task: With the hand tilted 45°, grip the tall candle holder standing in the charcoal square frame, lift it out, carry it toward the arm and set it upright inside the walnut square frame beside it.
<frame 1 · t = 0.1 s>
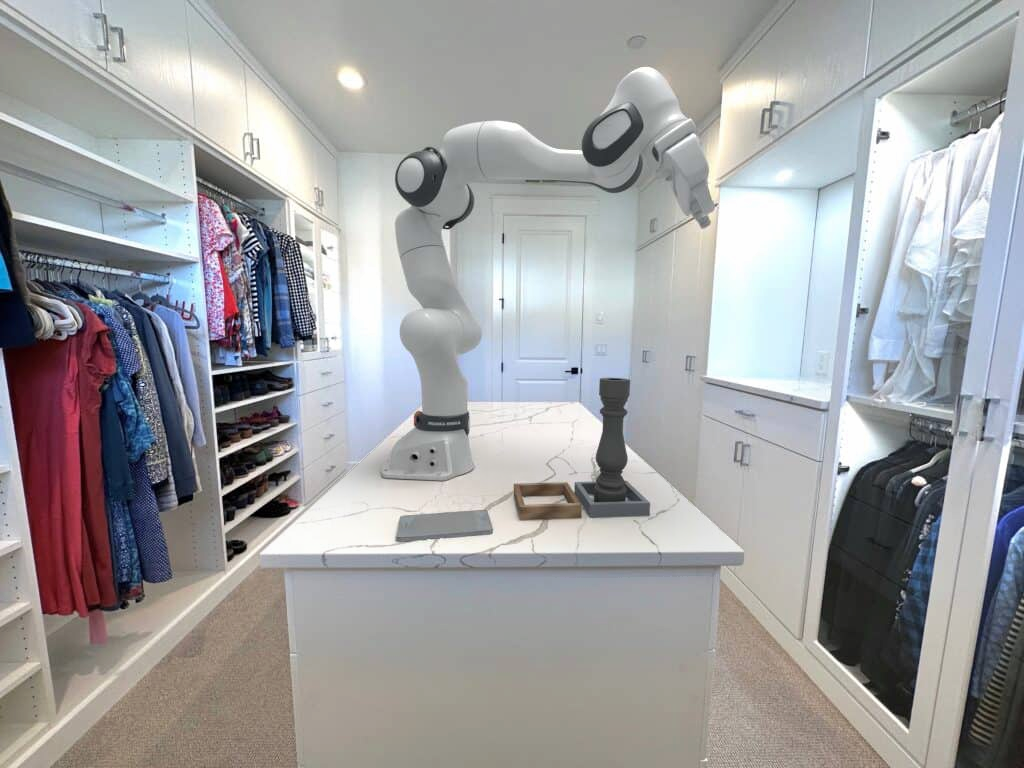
hand: (708, 219, 71), 54 cm above the table, tool tilted 30°, fingers open, 8 cm apart
charcoal frame: (609, 503, 79), on the table
candle holder: (609, 504, 79), resting in charcoal frame
phone: (444, 530, 69), on the table
walnut frame: (545, 505, 78), on the table
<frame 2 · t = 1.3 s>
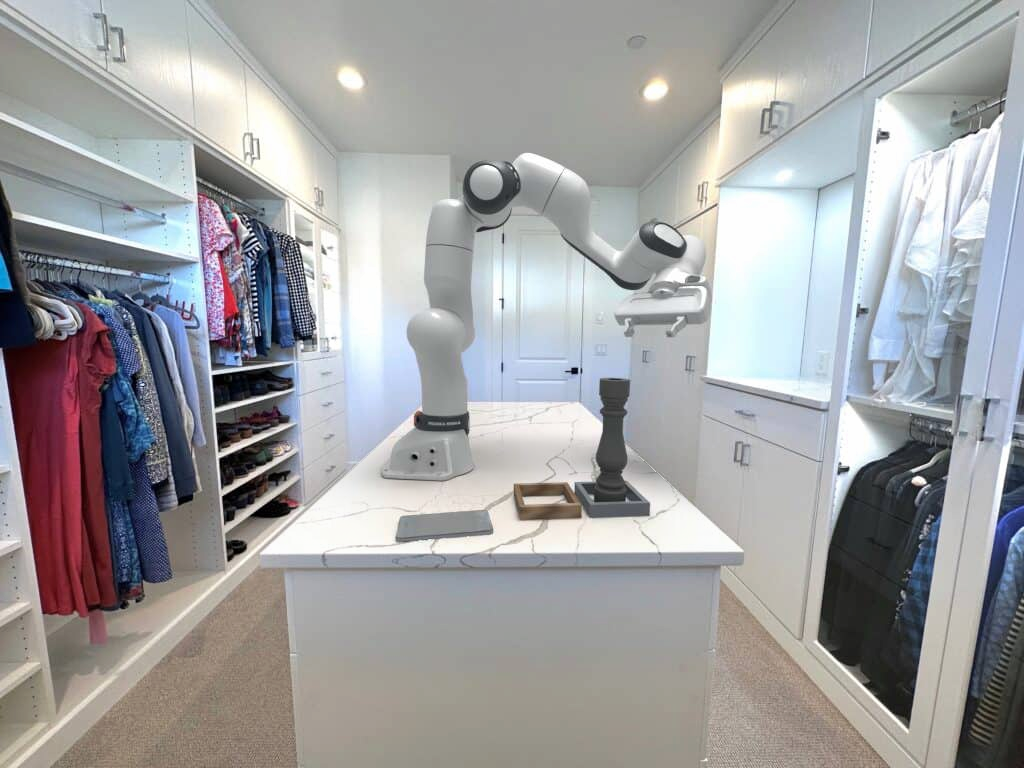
hand: (647, 335, 84), 33 cm above the table, tool tilted 45°, fingers open, 8 cm apart
nothing on the table moved.
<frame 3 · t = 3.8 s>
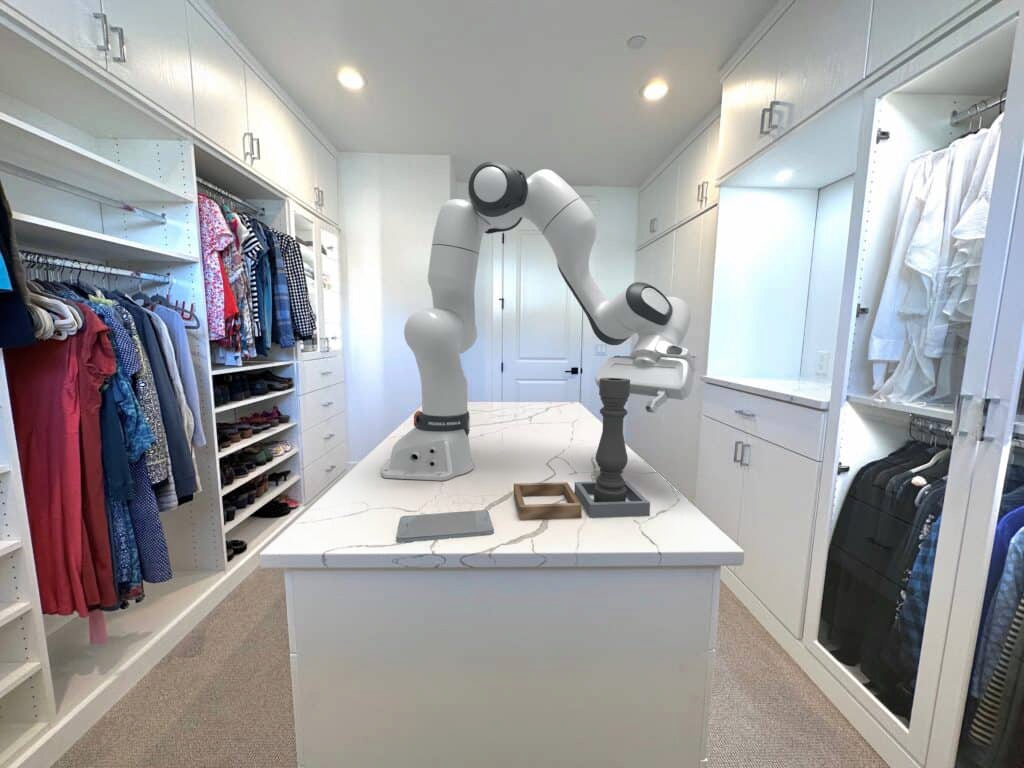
hand: (627, 407, 81), 19 cm above the table, tool tilted 45°, fingers open, 8 cm apart
nothing on the table moved.
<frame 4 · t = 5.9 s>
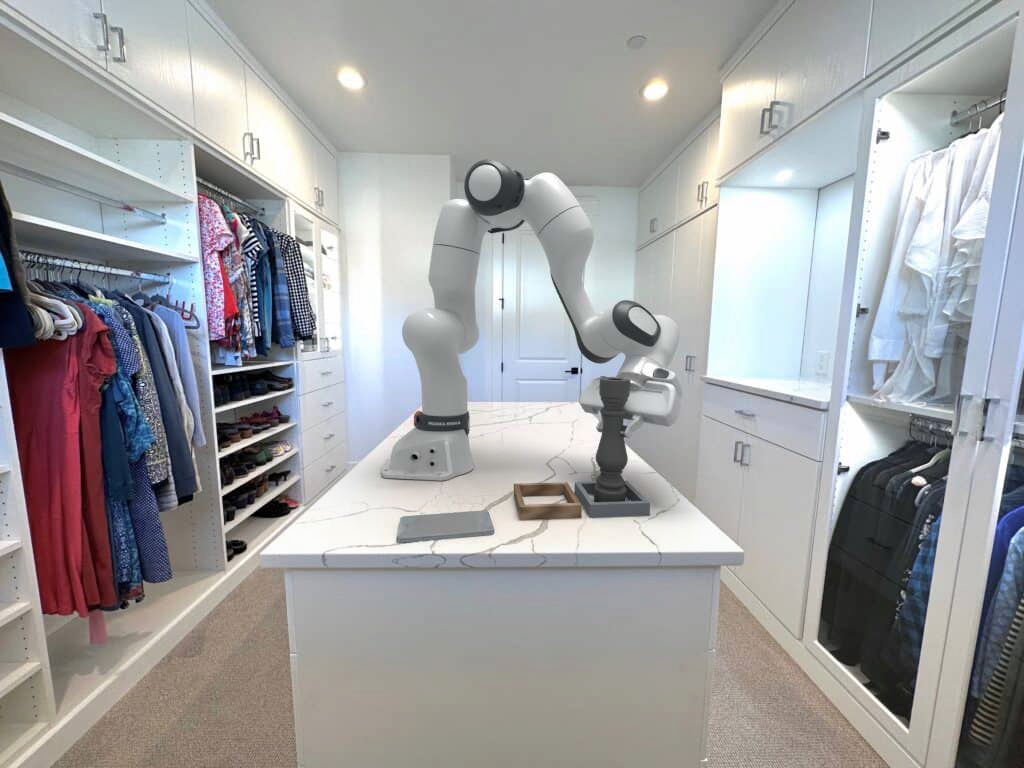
hand: (612, 433, 77), 14 cm above the table, tool tilted 45°, fingers closed on candle holder, 4 cm apart
candle holder: (609, 504, 79), resting in charcoal frame, touching gripper
everything else where it was.
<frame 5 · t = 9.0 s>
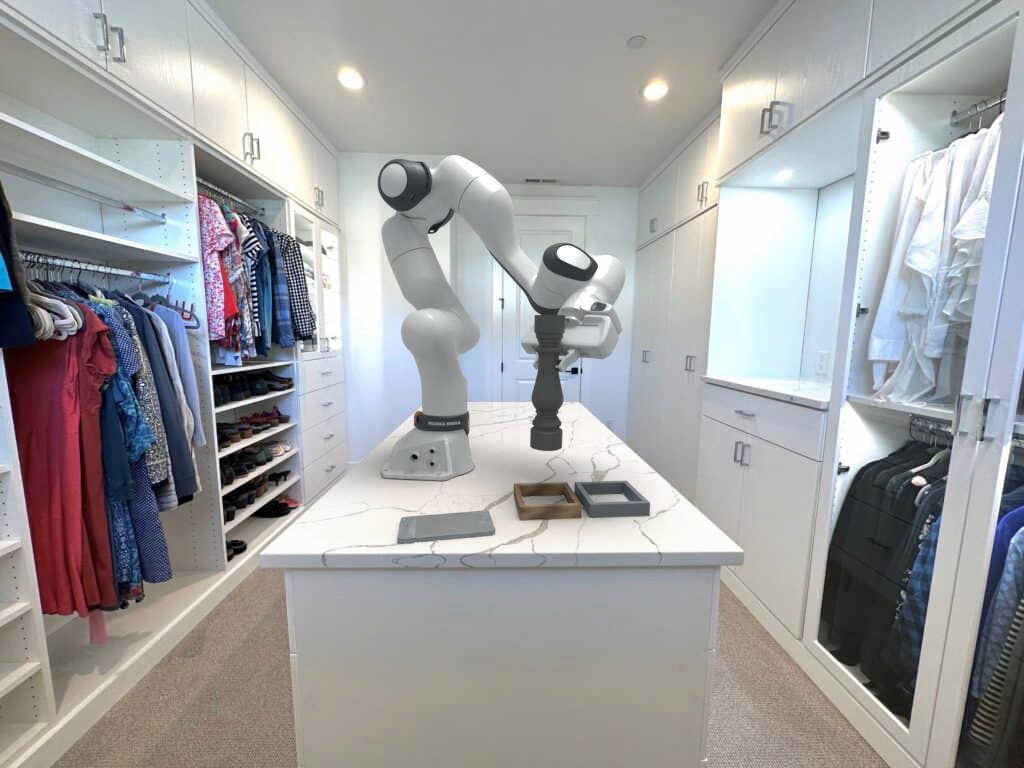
hand: (547, 368, 74), 27 cm above the table, tool tilted 45°, fingers closed on candle holder, 4 cm apart
candle holder: (545, 447, 77), point 12 cm above the table, touching gripper
everything else where it was.
when the fingers open (15 cm above the table, at t = 12.2 s): candle holder stays where it is, resting in walnut frame.
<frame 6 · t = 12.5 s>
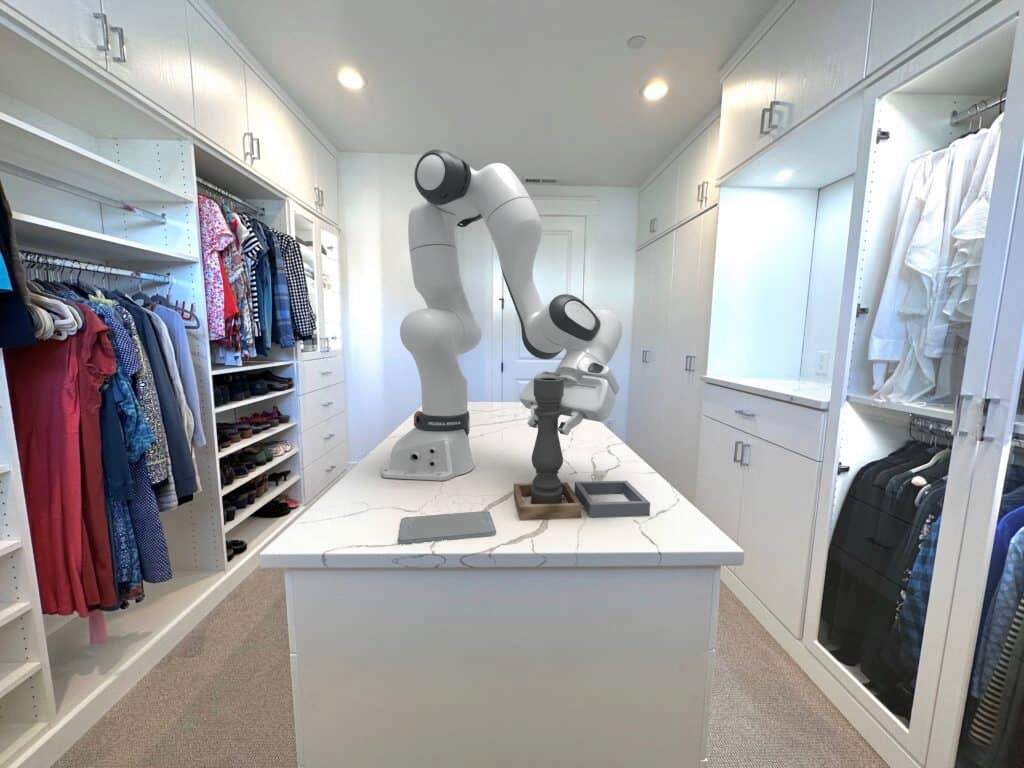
hand: (546, 429, 76), 15 cm above the table, tool tilted 45°, fingers open, 6 cm apart
candle holder: (546, 506, 78), resting in walnut frame
everything else where it was.
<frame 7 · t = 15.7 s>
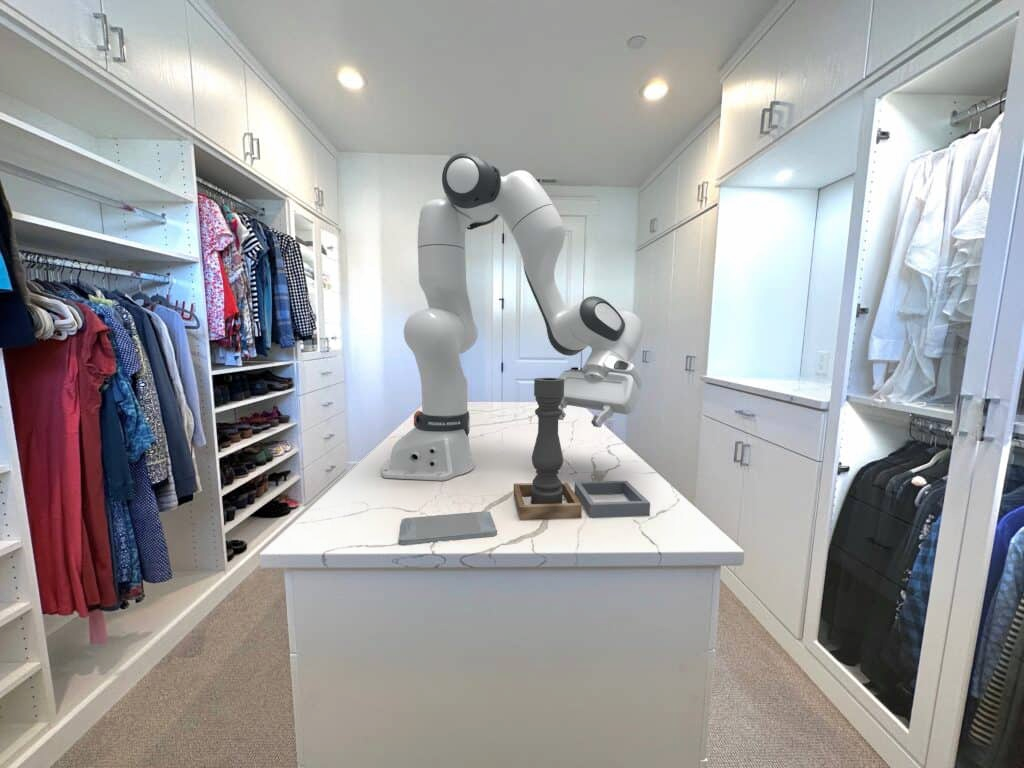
hand: (576, 421, 82), 15 cm above the table, tool tilted 45°, fingers open, 8 cm apart
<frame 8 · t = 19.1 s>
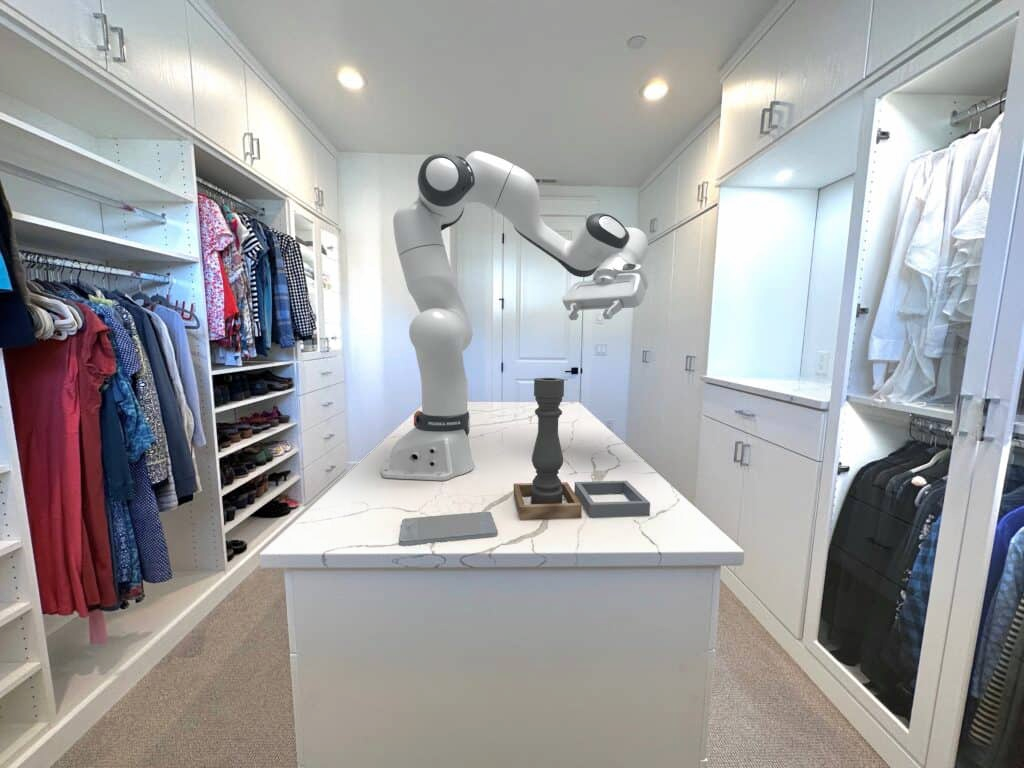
hand: (588, 317, 92), 37 cm above the table, tool tilted 45°, fingers open, 8 cm apart
at the end: candle holder 0.4 cm off-centre on the walnut frame, point 0.0 cm above the walnut frame's base; candle holder tilted 0°; the gripper is holding nothing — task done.
